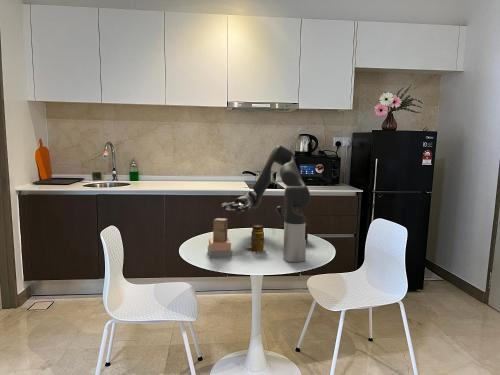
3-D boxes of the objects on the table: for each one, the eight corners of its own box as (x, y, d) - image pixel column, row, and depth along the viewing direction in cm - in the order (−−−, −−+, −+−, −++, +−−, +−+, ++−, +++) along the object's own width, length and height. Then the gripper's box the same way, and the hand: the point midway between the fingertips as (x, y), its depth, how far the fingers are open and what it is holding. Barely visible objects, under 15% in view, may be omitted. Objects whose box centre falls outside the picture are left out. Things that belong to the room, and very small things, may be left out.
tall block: (217, 238, 180) (217, 217, 179) (227, 239, 179) (227, 218, 177) (213, 241, 175) (213, 219, 174) (223, 242, 174) (223, 220, 173)
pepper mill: (301, 237, 210) (302, 204, 207) (308, 242, 199) (309, 209, 196) (274, 237, 207) (275, 205, 205) (278, 243, 196) (280, 209, 194)
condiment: (267, 250, 184) (267, 226, 183) (252, 253, 180) (253, 228, 178) (258, 246, 191) (259, 223, 189) (244, 249, 186) (244, 225, 184)
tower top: (227, 244, 183) (227, 237, 183) (230, 250, 174) (230, 242, 174) (208, 245, 181) (208, 238, 181) (211, 251, 172) (211, 243, 172)
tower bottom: (228, 251, 184) (228, 244, 183) (232, 258, 174) (232, 250, 174) (207, 252, 182) (207, 245, 181) (210, 259, 172) (210, 251, 171)
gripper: (229, 196, 204) (217, 200, 188) (254, 197, 199) (244, 202, 184) (229, 210, 205) (216, 215, 189) (254, 212, 200) (244, 218, 185)
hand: (230, 209), depth 187 cm, fingers open, 8 cm apart
